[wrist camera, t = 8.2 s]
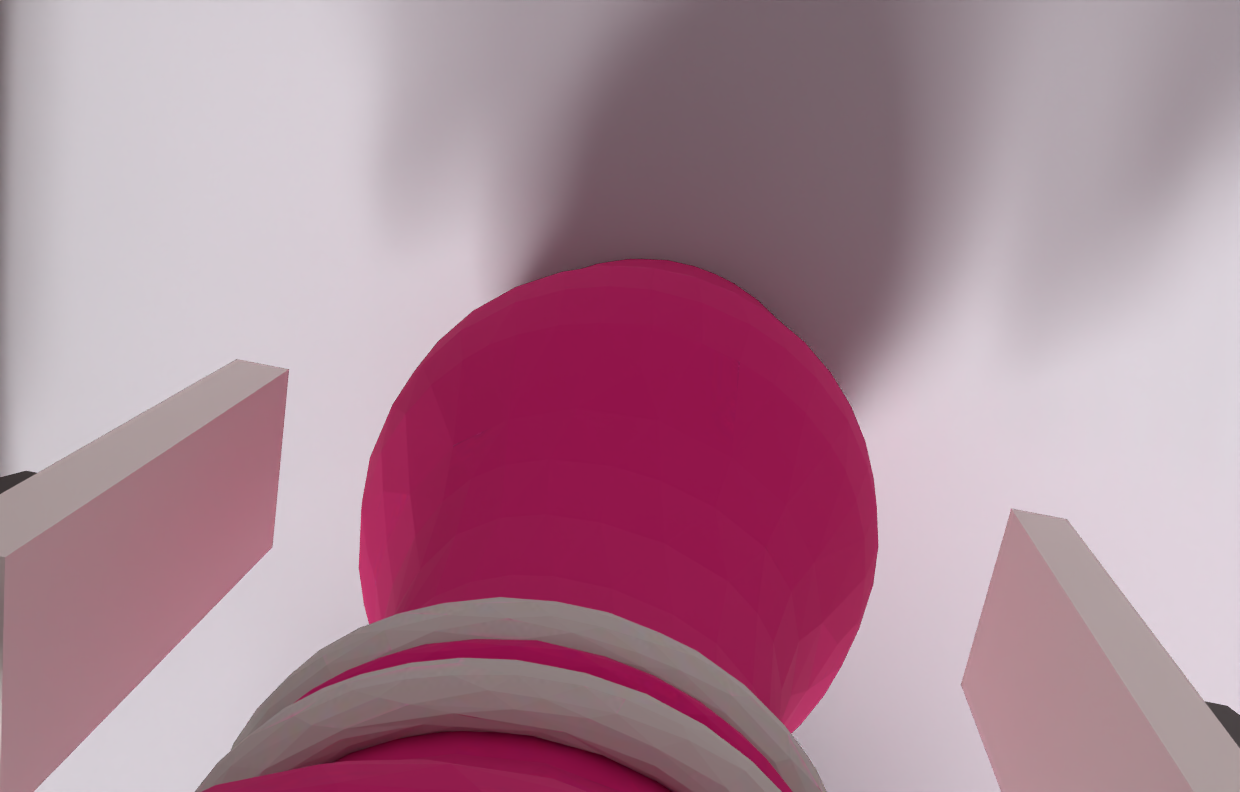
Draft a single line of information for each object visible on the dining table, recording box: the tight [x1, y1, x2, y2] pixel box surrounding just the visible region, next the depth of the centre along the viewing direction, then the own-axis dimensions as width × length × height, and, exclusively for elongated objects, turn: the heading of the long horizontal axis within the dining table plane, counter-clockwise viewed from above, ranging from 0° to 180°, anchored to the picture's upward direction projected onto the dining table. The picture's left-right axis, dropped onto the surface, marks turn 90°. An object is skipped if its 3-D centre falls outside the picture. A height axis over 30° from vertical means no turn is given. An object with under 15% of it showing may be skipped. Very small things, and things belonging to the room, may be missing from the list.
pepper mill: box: [195, 259, 878, 792], centre depth 11 cm, size 7×7×20 cm
